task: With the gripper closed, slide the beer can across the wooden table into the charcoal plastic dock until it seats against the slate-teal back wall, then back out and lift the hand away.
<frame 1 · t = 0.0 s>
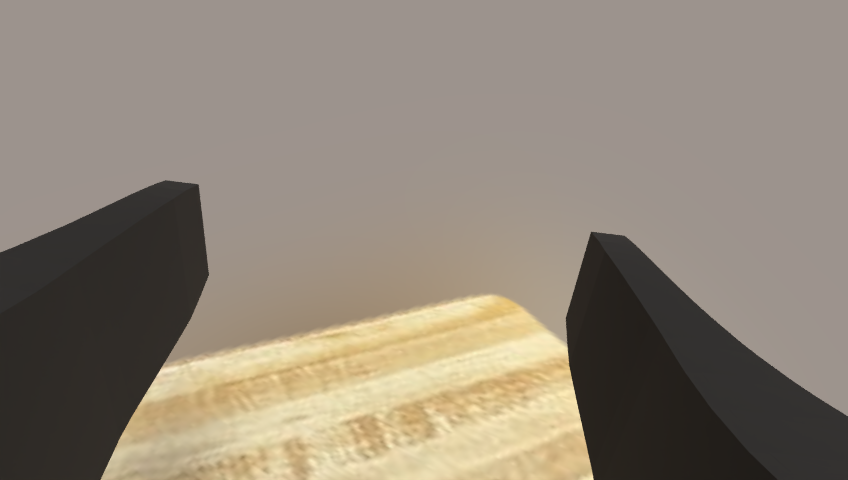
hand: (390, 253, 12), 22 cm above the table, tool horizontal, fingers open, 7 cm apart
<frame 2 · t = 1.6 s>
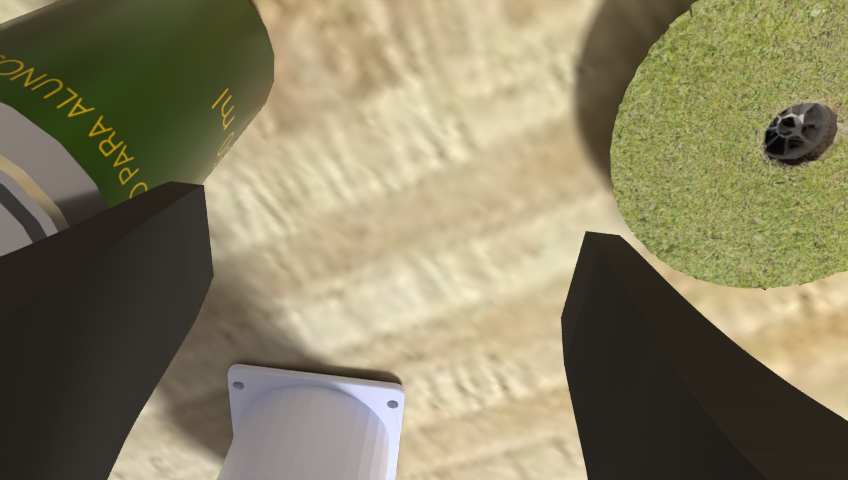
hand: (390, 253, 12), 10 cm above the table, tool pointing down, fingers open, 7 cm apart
beer can: (201, 45, 20), on the table
green disc with hole: (774, 114, 20), on the table
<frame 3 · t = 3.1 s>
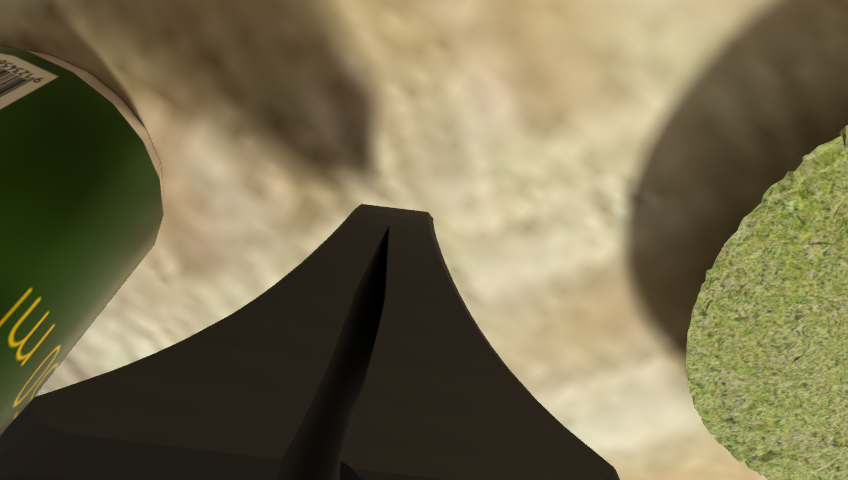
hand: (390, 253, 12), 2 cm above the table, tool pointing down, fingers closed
beer can: (57, 156, 13), on the table
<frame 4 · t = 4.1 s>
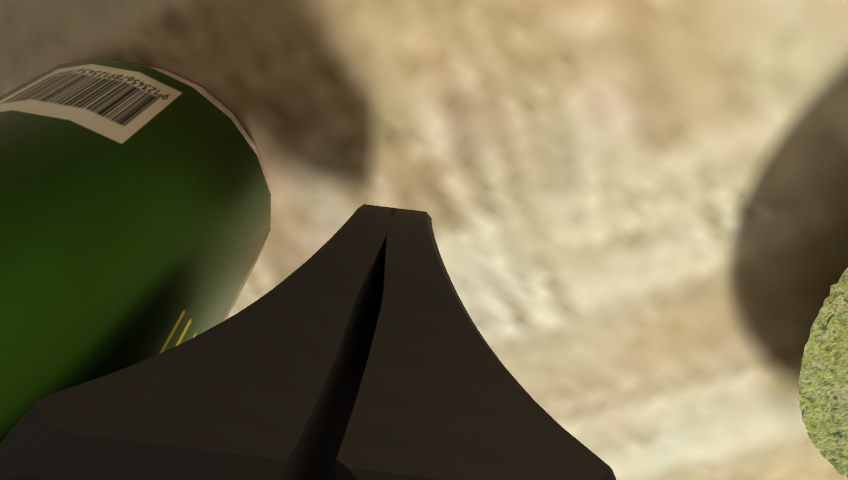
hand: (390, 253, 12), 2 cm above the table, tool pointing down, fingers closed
beer can: (160, 170, 13), on the table, touching gripper
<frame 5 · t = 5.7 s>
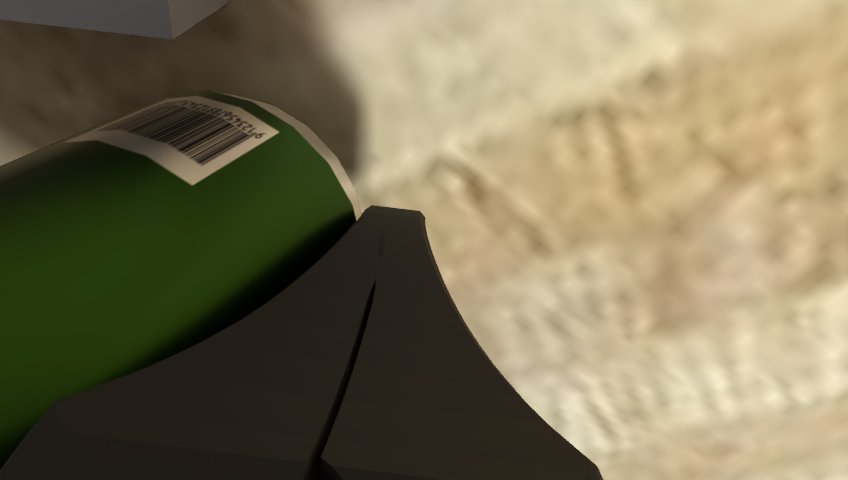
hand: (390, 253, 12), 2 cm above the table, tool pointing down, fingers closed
dock: (12, 158, 13), on the table
beer can: (263, 206, 13), point 1 cm above the table, touching gripper
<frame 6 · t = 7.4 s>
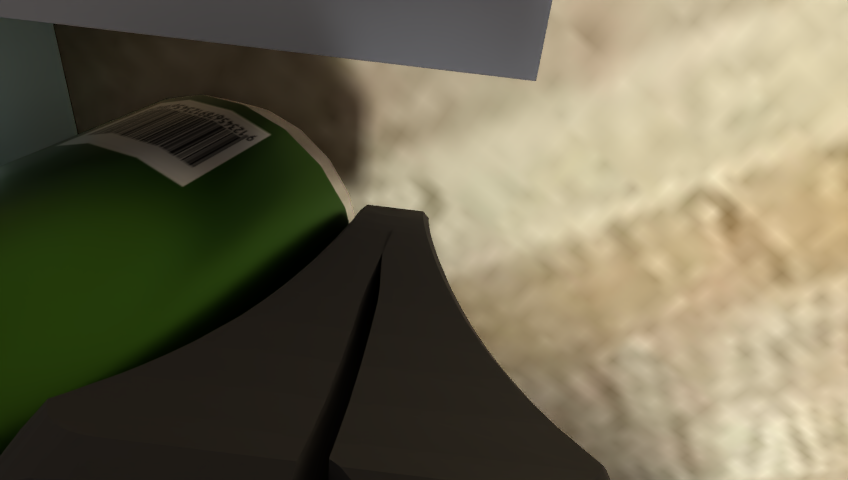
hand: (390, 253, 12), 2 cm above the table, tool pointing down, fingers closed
dock: (259, 186, 13), on the table
beer can: (258, 210, 13), point 1 cm above the table, touching gripper
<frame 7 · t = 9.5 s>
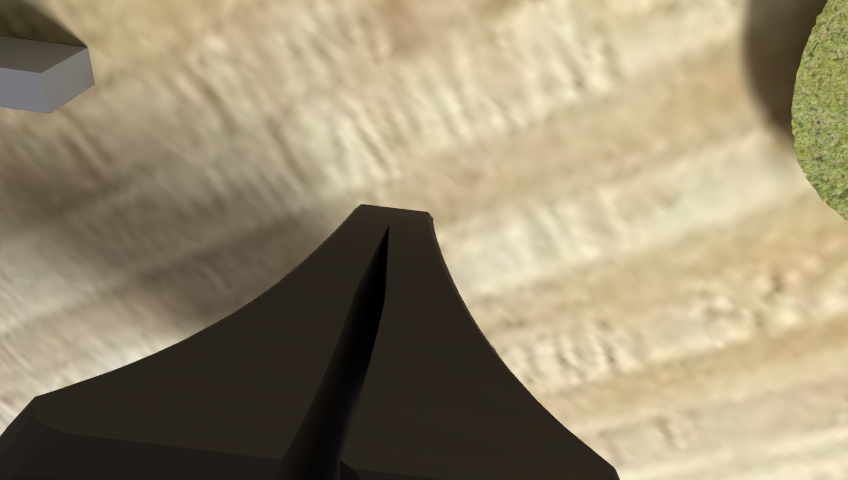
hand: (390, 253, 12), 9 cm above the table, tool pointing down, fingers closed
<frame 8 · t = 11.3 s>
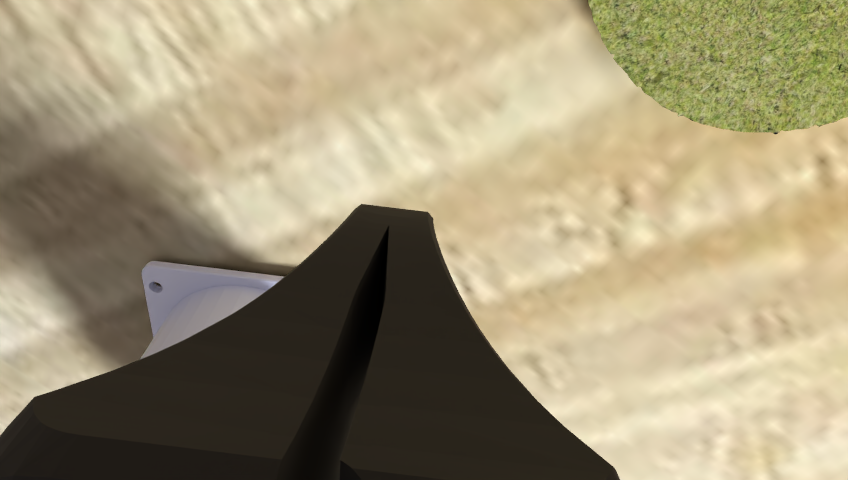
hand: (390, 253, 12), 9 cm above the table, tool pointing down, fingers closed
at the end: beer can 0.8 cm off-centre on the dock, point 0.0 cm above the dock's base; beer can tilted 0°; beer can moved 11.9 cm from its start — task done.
